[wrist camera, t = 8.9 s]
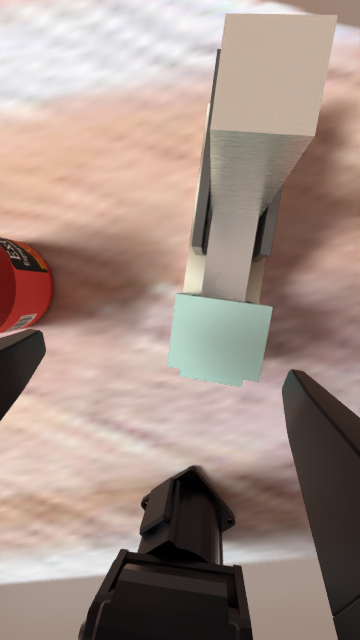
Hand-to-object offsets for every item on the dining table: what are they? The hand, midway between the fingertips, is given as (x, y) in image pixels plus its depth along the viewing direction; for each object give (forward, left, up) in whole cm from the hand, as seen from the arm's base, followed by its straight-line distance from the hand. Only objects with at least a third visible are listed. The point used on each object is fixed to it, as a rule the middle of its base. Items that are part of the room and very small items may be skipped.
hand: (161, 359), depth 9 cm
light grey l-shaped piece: (+1, -5, -10) cm, 11 cm away
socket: (-2, -1, -12) cm, 12 cm away
